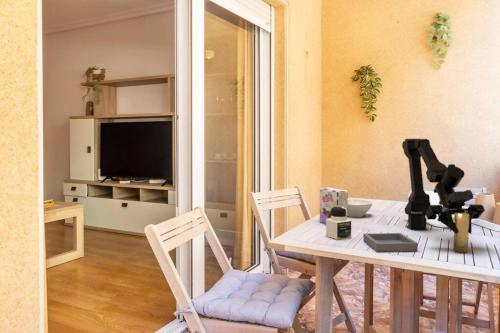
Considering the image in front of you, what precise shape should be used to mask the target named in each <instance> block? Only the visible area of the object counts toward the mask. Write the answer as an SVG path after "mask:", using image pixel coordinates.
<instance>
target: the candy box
mask: <svg viewBox="0 0 500 333" xmlns="http://www.w3.org/2000/svg"><path fill="white" fill-rule="evenodd" d="M348 192H349V191H348V190H345V189H340V188H334V187H330V186H329V187H327V186H326V187H319V223H321V224H324V225H326V219H329V218H331V208H333V207H344V208H346V219H348V215H347V200H349V198H348Z"/></svg>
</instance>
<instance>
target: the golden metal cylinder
mask: <svg viewBox="0 0 500 333" xmlns="http://www.w3.org/2000/svg"><path fill="white" fill-rule="evenodd" d="M453 221H454V223H455V225H456V228H457V231H458V232H457V233H454V232H453V251H455V252H458V253H468V252H469V234H470V233H469V213H465V212H455V215H454V219H453Z"/></svg>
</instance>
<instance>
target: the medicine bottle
mask: <svg viewBox="0 0 500 333" xmlns="http://www.w3.org/2000/svg"><path fill="white" fill-rule="evenodd" d="M325 226H326V227H325V236H326V237H327V236H328V238H330V237H331V239H333V238H334V239H333V240H336V239H337V241H340V240H346V239H351V238H352V220H351V219H349V218H347V219H346V208H344V207H333V208H331V218H329V219H326V224H325ZM339 239H340V240H339Z"/></svg>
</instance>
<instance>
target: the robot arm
mask: <svg viewBox="0 0 500 333" xmlns="http://www.w3.org/2000/svg"><path fill="white" fill-rule="evenodd" d="M401 145H402V146H401V147H402V150H403V154H404V156H405V157H406V158H407V159H408V165H409V166H408V167H409V176H410V187H411V193H410V195H409V197H408V202H407V204H406V205H405V207H404V213H405V214H406V215H408V216H407V225H406V228H408V229H410V230H412V231H427V230H428V228H427V220H436V219H437V222H440V223H442V224H443V225H445V226H447V228H449V229H450V230H451V231H452V232H453V234H454V233H457V232H458V231H457V228H456V225H455V223H454V219H453V216H452V215H454V216H455V212H465V213H469V234H471V233H472V220H477V219H479V218H480V217H481V216H482V215H483V213H484V212H485V211H486V209H485V207H484V205H482V204H479V203H477V204H470V205H469V206H468V207H467V208H465V207H464V206H465V205H466V203H467V202H470V200H472V199H474V193H473V192H472V190H471V189H465V190H464V191H463V190H462V191H461V190H460V191H456V190H455V188H457V187H458V186H459V184H460V183H461V181H462V180H463V179H464V177H465V171H464V170H463V169H462V168H460V167H458V166H456V165H455V164H453V163H451V164H450V163H449V164H448V166H446V164H444V163H442V162H441V161H440V160H439V158H438V157H437V155H436V153H435V151H434V149H433V148H432V146H431V142H430V139H427V138H405V139H404V141H402V143H401ZM421 158H422V159H421ZM421 160H423V162H424V164H425V167H426V172H425V174H426V179H427V180H428V182H429V183H434V184H435V183H436V184H435V186H434V189H433V193H434V194H435V193H436V194H437V196H438V197H439V200H440V201H439V202H438V203H439V204H431V200H430V194H429V193H426V191H425V190H424V189H425V188H424V179H423V178H424V177H423V169H422V161H421ZM437 217H438V218H437Z"/></svg>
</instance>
